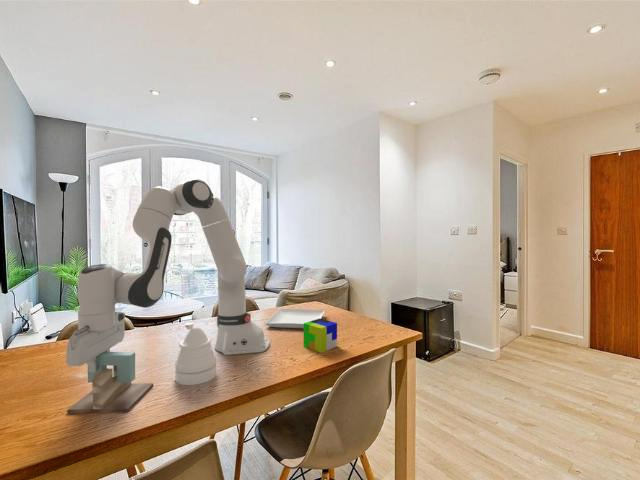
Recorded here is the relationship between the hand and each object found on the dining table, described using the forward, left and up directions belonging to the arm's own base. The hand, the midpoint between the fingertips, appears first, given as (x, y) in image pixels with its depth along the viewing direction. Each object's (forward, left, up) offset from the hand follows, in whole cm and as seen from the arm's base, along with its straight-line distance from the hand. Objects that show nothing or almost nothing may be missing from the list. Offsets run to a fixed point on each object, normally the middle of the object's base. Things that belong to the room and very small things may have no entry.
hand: (98, 368), depth 92 cm
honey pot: (-23, -14, -9) cm, 29 cm away
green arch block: (-4, 0, -4) cm, 5 cm away
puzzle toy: (-66, -39, -9) cm, 77 cm away
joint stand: (-4, 0, -9) cm, 10 cm away
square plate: (-55, -74, -10) cm, 93 cm away
